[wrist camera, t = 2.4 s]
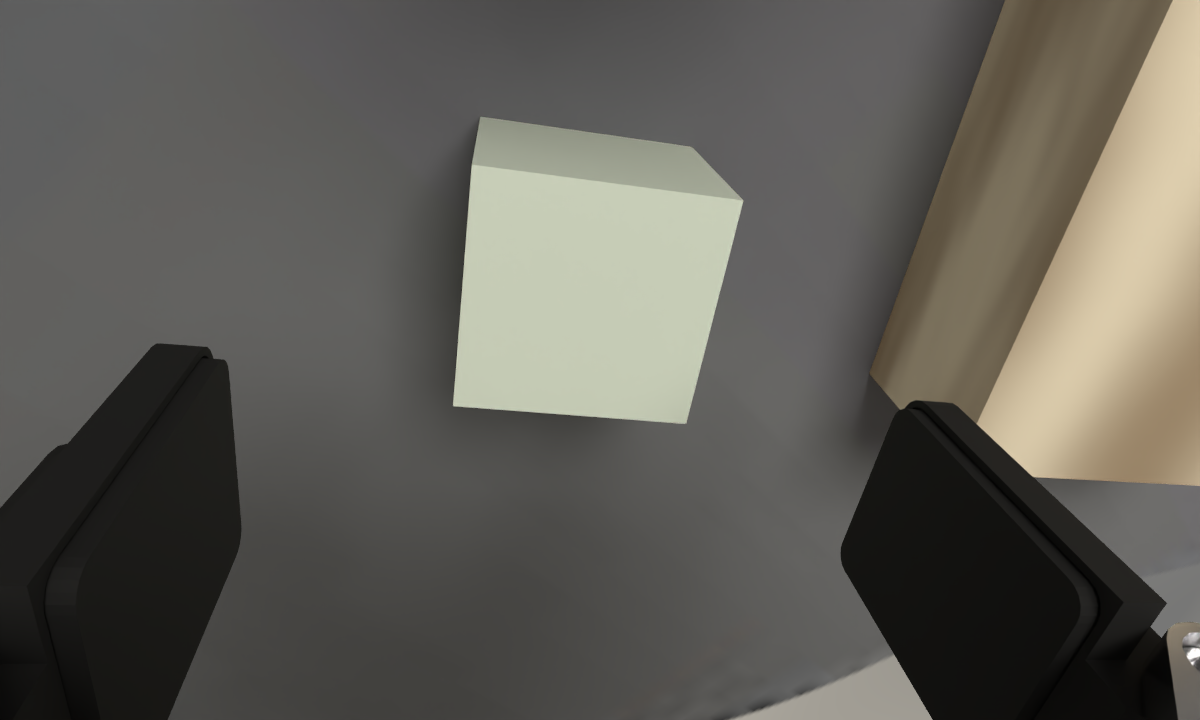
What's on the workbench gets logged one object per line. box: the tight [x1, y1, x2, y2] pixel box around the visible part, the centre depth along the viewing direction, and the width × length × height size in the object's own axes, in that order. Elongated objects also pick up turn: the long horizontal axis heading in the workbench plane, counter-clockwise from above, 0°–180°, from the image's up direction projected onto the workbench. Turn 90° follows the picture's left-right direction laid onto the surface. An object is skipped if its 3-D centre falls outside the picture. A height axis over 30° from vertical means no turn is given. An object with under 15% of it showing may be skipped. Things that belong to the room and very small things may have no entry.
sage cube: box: [453, 117, 743, 424], centre depth 16 cm, size 5×5×4 cm
